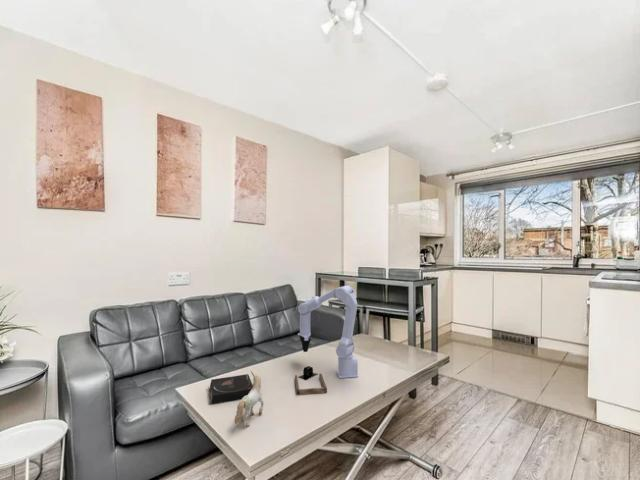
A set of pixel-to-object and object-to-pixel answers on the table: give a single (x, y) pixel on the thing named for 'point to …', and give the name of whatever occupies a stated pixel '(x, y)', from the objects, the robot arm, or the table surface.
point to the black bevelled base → (307, 373)
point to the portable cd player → (230, 388)
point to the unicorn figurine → (250, 402)
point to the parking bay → (311, 390)
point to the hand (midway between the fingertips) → (305, 350)
